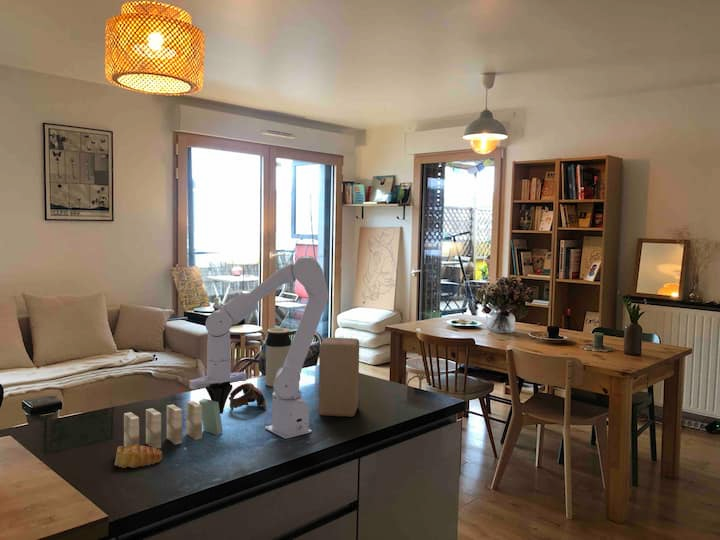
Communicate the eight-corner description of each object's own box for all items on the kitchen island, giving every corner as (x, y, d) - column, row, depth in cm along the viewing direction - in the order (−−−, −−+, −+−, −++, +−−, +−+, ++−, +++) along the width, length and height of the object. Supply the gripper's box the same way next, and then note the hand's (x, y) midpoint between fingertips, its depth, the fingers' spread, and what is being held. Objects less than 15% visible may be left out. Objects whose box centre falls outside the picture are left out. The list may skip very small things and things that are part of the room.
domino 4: (201, 438, 140) (202, 405, 140) (195, 439, 139) (195, 406, 139) (192, 432, 144) (192, 400, 144) (186, 434, 143) (186, 401, 143)
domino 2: (161, 447, 134) (161, 413, 133) (154, 449, 133) (154, 414, 132) (152, 441, 138) (152, 408, 137) (145, 443, 137) (145, 409, 136)
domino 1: (139, 452, 131) (139, 417, 130) (131, 454, 130) (131, 419, 129) (131, 446, 134) (130, 412, 134) (124, 447, 133) (123, 413, 133)
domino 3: (182, 442, 137) (182, 409, 137) (175, 444, 136) (175, 410, 136) (173, 437, 141) (173, 404, 140) (166, 438, 140) (166, 405, 139)
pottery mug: (269, 415, 160) (255, 392, 157) (237, 430, 160) (223, 407, 157) (269, 392, 172) (256, 370, 169) (239, 406, 172) (226, 384, 169)
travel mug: (267, 388, 185) (267, 332, 184) (264, 382, 193) (264, 327, 192) (292, 387, 188) (292, 331, 186) (288, 380, 195) (289, 327, 194)
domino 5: (222, 431, 144) (218, 402, 142) (218, 434, 143) (213, 404, 141) (208, 427, 147) (204, 398, 145) (203, 430, 146) (199, 401, 144)
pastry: (162, 455, 130) (162, 438, 130) (161, 467, 124) (161, 449, 123) (117, 458, 128) (117, 441, 127) (113, 471, 121) (113, 453, 121)
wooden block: (358, 407, 168) (359, 338, 166) (354, 418, 158) (356, 344, 157) (323, 405, 169) (324, 336, 167) (317, 416, 159) (319, 343, 158)
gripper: (237, 352, 153) (236, 404, 153) (184, 359, 143) (183, 414, 144) (251, 357, 147) (250, 410, 148) (196, 365, 138) (196, 421, 139)
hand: (218, 413), depth 146 cm, fingers closed
